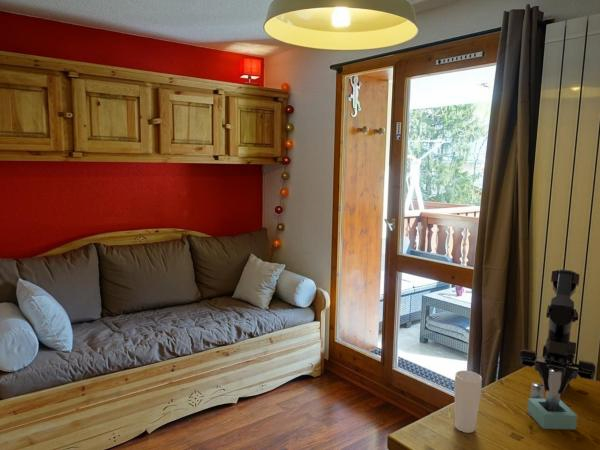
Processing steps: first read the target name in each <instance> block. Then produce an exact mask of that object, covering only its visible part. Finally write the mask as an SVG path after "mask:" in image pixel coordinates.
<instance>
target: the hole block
mask: <svg viewBox="0 0 600 450" xmlns="http://www.w3.org/2000/svg"><path fill="white" fill-rule="evenodd" d="M545 402H546V398H543V399H535V398H527V408H526V409H527V410H526V412H527V413H528V414H529V415H530V417H532V418H533V420H534V421H535V422H537V424H538V425H539V426H540V428H542V429H543V430H577V422H578V415H577V414H576V413H575V412H574V411H573V410H572V409H571V408H570V407H569V406H568V405H566V403H564V402H563V401H562V400H561V399H560V403H559V412H547V411H546V410H545Z"/></svg>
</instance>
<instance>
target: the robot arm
mask: <svg viewBox="0 0 600 450" xmlns="http://www.w3.org/2000/svg"><path fill="white" fill-rule="evenodd" d="M580 275H581V274H579V273H576V272H575V271H574V270H570V269H568V270H567V269H556V270H552V271H551V275H550V276H551V278H550V283H552V290H553V291H554V293H555V296H554V297H552V298H551V300H550V304H547V309H546V315H545V316H546V318H547V319H548V332H547V338H546V340H545V344H544V345H543V348H542V356H540V355H537V354H536V353H537V351H534V350H530V349H529V350H528V349H524V348H523V349H521V350H520V353H519V364H520V365H521V366H523V367H524V366H525V367H528V368H533V367H534V370H535V372H537V373H538V375H539V376H540V378H541V380H542V385H544V392H547V382H548V372H549V368H557V369H560V370H562V371H563V374H562V384H561V392H560V396H563V394H564V392H565V390H566V388H567V387H569V386H570V382H571V381H572V380H573V379H574V380H576V379H578V378H577V377H579V378H580V379H586V380H591V381H592V380H594V378H595V376H596V369H597V368H596V365H595V363H594V362H591V361H586V360H585V361H584V360H580V359H579V360H578V363H574V362H575V355H576V351H577V342H575V341H571V333H572V326H573V323H576V321H579V313H578V311H577V309H575V302H574V301H573V299H571V297H572V296H573V295H574V294H575V293H576V288H577V287H578V286H579V285H580Z"/></svg>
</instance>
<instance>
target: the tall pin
mask: <svg viewBox="0 0 600 450" xmlns="http://www.w3.org/2000/svg"><path fill="white" fill-rule="evenodd" d="M562 374H563V371H562V370H560V369H557V368H549V372H548V382H547V392H546V391H545V392H546V394H545V399H546V402H545V410H546V411H547V412H559V403H560V400H561V395H560V392H561V386H562V385H561V384H562Z"/></svg>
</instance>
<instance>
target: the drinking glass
mask: <svg viewBox="0 0 600 450" xmlns="http://www.w3.org/2000/svg"><path fill="white" fill-rule="evenodd" d="M482 381H483V377H482V376H481V375H480V374H478V373H477V372H474V371H471V370H458V371H456V373H455V377H454V388H453V389H454V393H453V394H454V395H453V396H454V427H455V428H456V430H458V431H460V432H461V431H462V433H468V434H471V433H474V431H476V427H477V417H478V413H479V406H480V401H481V396H482V395H481V394H482V385H483V384H482V383H483V382H482Z"/></svg>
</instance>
